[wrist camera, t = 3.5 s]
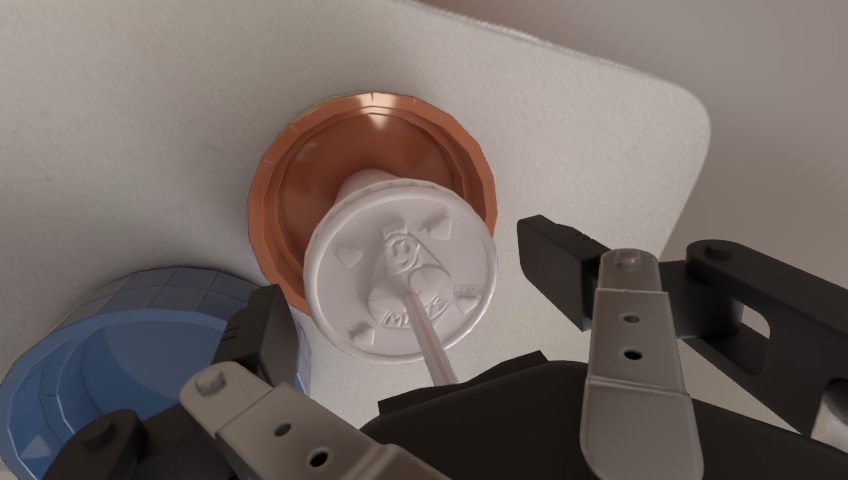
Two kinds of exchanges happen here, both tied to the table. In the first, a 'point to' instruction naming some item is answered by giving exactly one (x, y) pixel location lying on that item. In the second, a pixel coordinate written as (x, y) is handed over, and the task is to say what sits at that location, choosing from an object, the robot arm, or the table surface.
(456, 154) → the terracotta bowl
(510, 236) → the table surface
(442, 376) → the smoothie
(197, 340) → the blue bowl
